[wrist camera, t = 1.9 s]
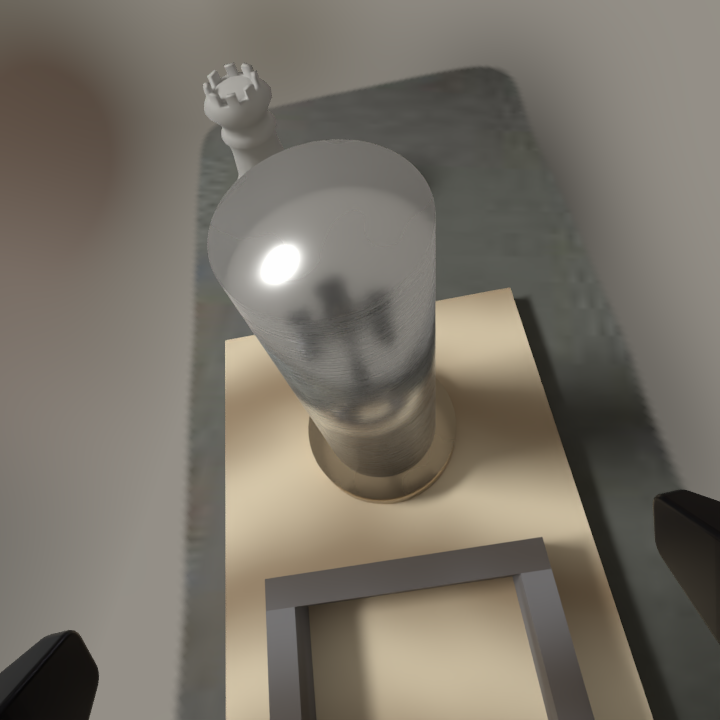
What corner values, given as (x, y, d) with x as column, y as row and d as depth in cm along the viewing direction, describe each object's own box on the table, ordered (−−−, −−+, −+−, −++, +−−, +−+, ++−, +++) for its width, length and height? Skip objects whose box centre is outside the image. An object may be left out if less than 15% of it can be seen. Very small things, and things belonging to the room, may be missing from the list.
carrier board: (747, 1039, 13) (827, 1152, 10) (240, 1081, 14) (193, 1196, 11) (507, 299, 24) (516, 261, 21) (232, 349, 25) (208, 319, 22)
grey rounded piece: (469, 491, 19) (520, 325, 8) (321, 515, 20) (158, 391, 8) (439, 358, 22) (442, 88, 10) (309, 381, 22) (174, 146, 11)
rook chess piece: (332, 204, 28) (298, 72, 21) (274, 251, 27) (218, 128, 20) (286, 170, 30) (240, 37, 23) (229, 212, 29) (163, 87, 22)
